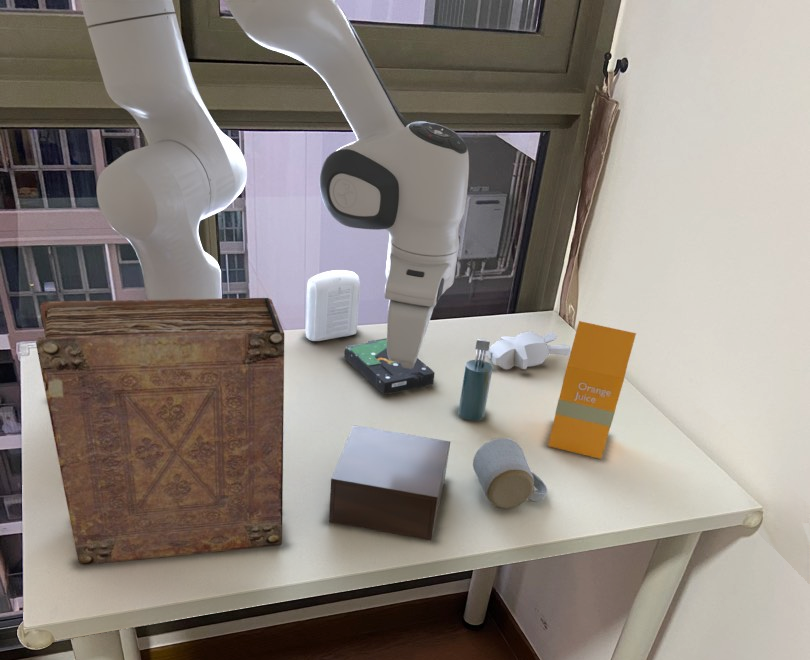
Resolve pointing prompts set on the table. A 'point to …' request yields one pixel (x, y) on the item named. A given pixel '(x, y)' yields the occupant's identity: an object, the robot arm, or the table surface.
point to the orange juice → (591, 389)
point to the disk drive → (387, 368)
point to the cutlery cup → (476, 385)
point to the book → (166, 423)
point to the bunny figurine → (525, 350)
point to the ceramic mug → (506, 474)
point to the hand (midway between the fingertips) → (408, 363)
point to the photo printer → (332, 305)
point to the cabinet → (389, 482)
